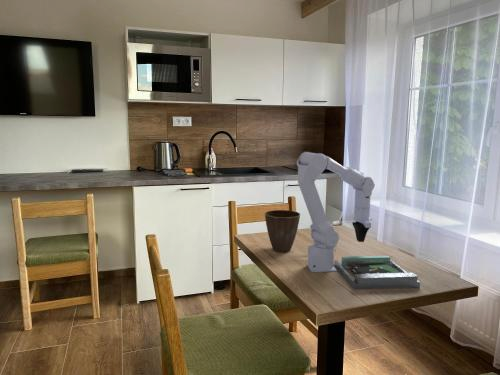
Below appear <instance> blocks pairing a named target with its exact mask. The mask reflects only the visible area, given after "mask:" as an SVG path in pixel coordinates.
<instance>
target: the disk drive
mask: <svg viewBox="0 0 500 375" xmlns="http://www.w3.org/2000/svg"><path fill="white" fill-rule="evenodd" d="M350 270H351V271H350V272H351V273H352V274H354V275H355V274H376V273H401V272H400V271H398V270H397V269H395V268H393V267H391V266H389V264H378V265H377V264H376V265H361V266H351V269H350Z"/></svg>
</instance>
